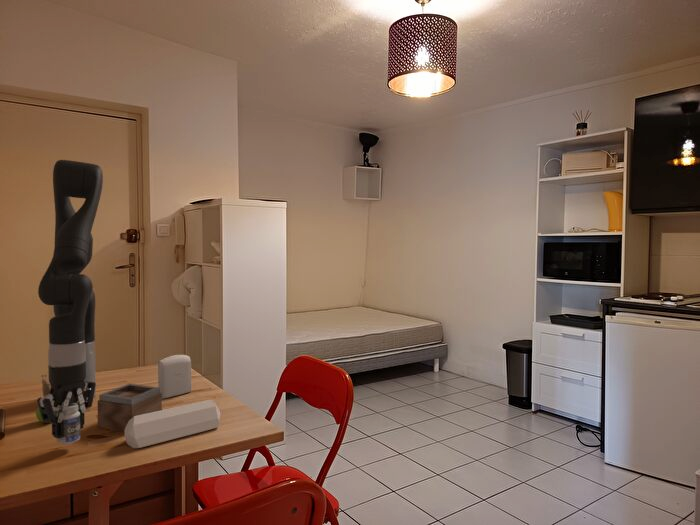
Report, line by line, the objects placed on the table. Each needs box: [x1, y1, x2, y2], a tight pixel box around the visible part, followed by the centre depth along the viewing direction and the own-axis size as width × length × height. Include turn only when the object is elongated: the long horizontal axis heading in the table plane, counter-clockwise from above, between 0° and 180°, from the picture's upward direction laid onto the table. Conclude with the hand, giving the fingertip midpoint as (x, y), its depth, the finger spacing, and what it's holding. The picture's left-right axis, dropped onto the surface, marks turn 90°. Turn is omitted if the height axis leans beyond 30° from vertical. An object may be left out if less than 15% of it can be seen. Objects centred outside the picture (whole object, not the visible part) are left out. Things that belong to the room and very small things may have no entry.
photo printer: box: [157, 354, 192, 400], centre depth 152 cm, size 10×4×12 cm, turn 137°
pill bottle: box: [56, 403, 81, 445], centre depth 113 cm, size 5×5×8 cm
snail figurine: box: [35, 374, 60, 424], centre depth 129 cm, size 5×6×12 cm
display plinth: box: [97, 383, 163, 433], centre depth 129 cm, size 11×11×8 cm
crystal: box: [124, 399, 221, 449], centre depth 123 cm, size 7×7×24 cm
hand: (68, 432), depth 113 cm, fingers closed on pill bottle, 4 cm apart
